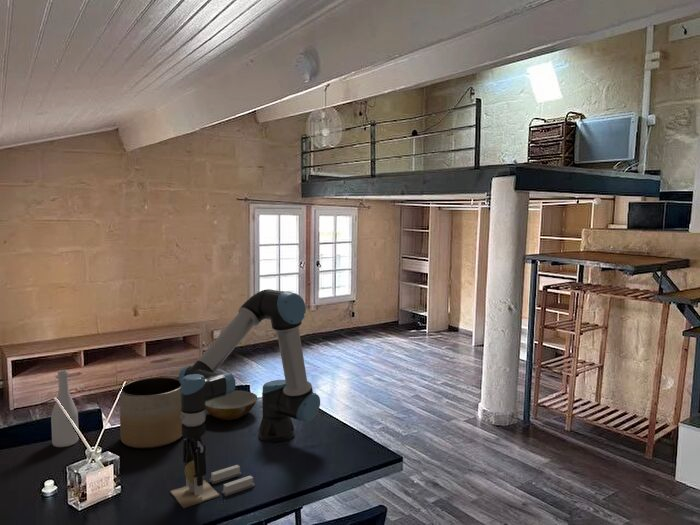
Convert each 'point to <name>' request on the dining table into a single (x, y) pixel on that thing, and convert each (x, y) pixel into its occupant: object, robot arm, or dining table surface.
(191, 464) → the light bulb
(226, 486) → the socket rails
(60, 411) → the wine bottle
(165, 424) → the planter
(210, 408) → the bowl
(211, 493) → the square wooden board
